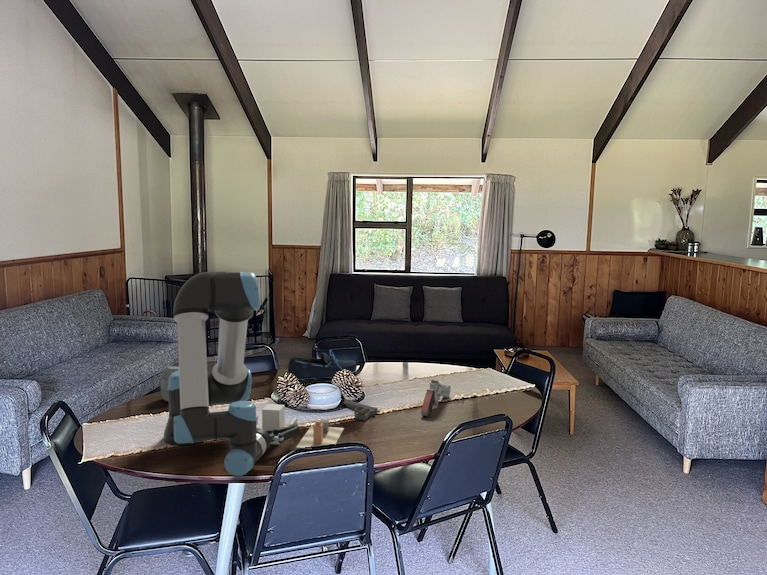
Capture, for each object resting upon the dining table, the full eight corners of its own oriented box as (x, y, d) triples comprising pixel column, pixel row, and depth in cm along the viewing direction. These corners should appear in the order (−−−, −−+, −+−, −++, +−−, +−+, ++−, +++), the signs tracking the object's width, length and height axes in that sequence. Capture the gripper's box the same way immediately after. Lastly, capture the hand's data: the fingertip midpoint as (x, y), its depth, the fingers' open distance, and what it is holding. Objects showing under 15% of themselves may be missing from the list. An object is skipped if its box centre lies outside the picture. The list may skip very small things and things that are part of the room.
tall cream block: (279, 447, 187) (279, 410, 186) (262, 446, 188) (262, 409, 187) (284, 441, 193) (284, 404, 192) (268, 440, 194) (267, 403, 192)
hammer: (252, 366, 260) (162, 365, 236) (259, 370, 254) (167, 369, 230) (248, 395, 260) (158, 397, 236) (256, 399, 254) (163, 402, 230)
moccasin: (362, 375, 279) (362, 352, 277) (296, 385, 261) (296, 359, 259) (349, 369, 290) (349, 346, 289) (284, 378, 272) (284, 353, 271)
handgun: (328, 412, 226) (349, 405, 235) (364, 422, 214) (384, 414, 223) (328, 405, 225) (349, 398, 235) (364, 415, 214) (384, 407, 223)
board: (332, 453, 184) (332, 437, 183) (295, 450, 185) (295, 435, 185) (344, 431, 204) (344, 416, 203) (311, 429, 205) (311, 415, 204)
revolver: (419, 415, 219) (424, 375, 223) (439, 420, 245) (443, 385, 249) (428, 416, 218) (433, 377, 221) (447, 422, 244) (452, 386, 247)
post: (321, 443, 188) (321, 422, 188) (313, 443, 189) (313, 422, 188) (322, 440, 191) (323, 419, 190) (315, 440, 191) (315, 419, 190)
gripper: (215, 453, 174) (240, 429, 195) (295, 459, 171) (312, 433, 192) (214, 429, 173) (240, 407, 194) (295, 434, 170) (312, 411, 191)
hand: (276, 420), depth 193 cm, fingers open, 13 cm apart
